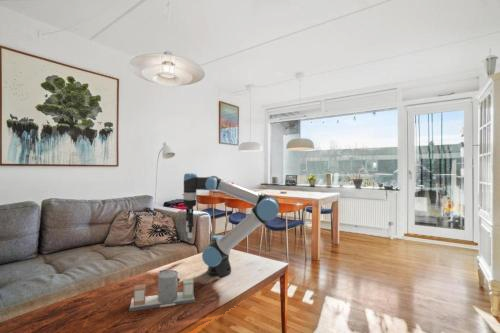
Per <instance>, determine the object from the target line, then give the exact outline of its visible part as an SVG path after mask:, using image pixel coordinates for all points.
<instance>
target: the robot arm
mask: <svg viewBox="0 0 500 333" xmlns="http://www.w3.org/2000/svg"><path fill="white" fill-rule="evenodd" d="M197 190H198V191H199V190H200V191H219V192H221V193H223V194H226V195H227V196H231V197H234V198H236V199H238V200H241V201H243V202H246V203H249V204H251V205H253V207H252V208H251V212H250V213H249V214H247V216H245V217H244V218H243V219H242V220H241V221H240V222H238V224H236V225H235V226H234V227H232V228H231V229H230V230H229V231H228V232H227V233H225V234H224V235H222V234H221V235H219V234H218V235H212V236H211V238H210V243H209V244H208V245H207V246H206V247H205V248H204V249H203V251H202V254H201V258H202V261H203V262H204V264H205V265H206V266H207V274H208V275H210V276H212V277H219V278H221V277H225V276H229V275H230V274H232V266H231V263H230V262H231V261H230V254H231V250H232V249H233V248H235V246H237V245H238V244H239V243H240V242H242V241H243V240H244V239H245V238H247V237H248V236H249V235H250V234H251V233H252V232H254V231H255V230H256V229H257V228H258V227H259V226H261V225H264V226H265V225H266V224H268V223H269V222H270V221H272V220H274V219H276V217H278V216H277V215H278V214H279V210H280V203H279V200H278V199H277V198H276V197H274V196H273V195H270V194H266V193H263V192H260V193H259V192H256V191H253V190H251V189H247V188H245V187H243V186H239V185H238V184H234V183H233V182H230V181H228V180H224V179H221V178H219V177H218V176H217V175H211V176H205V177H203V176H201V177H200V176H197V173H191V172H189V173H184V174H183V193H182V196H183V201H182V202H183V203H182V205H183V207H186V208H185V219H186V222H185V232H187V238H188V239H192V238H194V236H193V235H194V234H193V233H194V232H193V231H194V208H193V207H196V206H197Z"/></svg>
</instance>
